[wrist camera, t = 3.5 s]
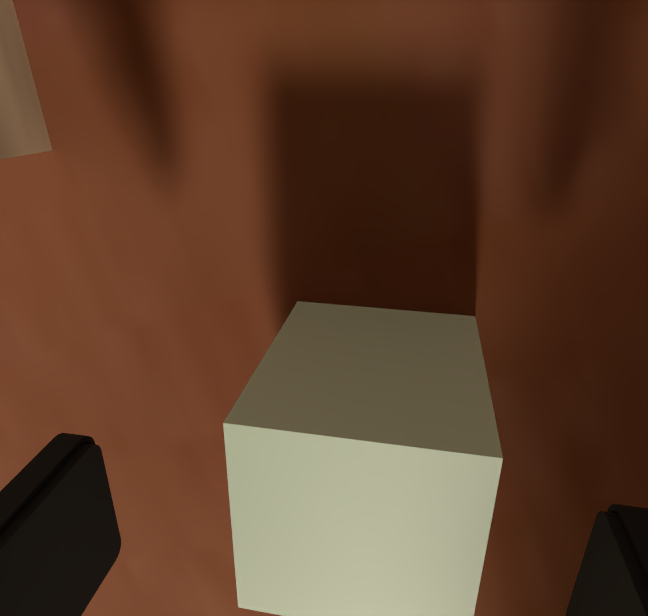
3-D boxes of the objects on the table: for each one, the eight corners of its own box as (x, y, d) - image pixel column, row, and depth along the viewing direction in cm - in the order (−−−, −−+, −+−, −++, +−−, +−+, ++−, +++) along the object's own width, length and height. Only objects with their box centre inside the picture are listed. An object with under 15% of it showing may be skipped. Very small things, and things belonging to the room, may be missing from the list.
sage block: (475, 315, 14) (503, 458, 9) (454, 460, 16) (466, 650, 11) (297, 300, 15) (222, 423, 10) (299, 441, 17) (238, 607, 12)
